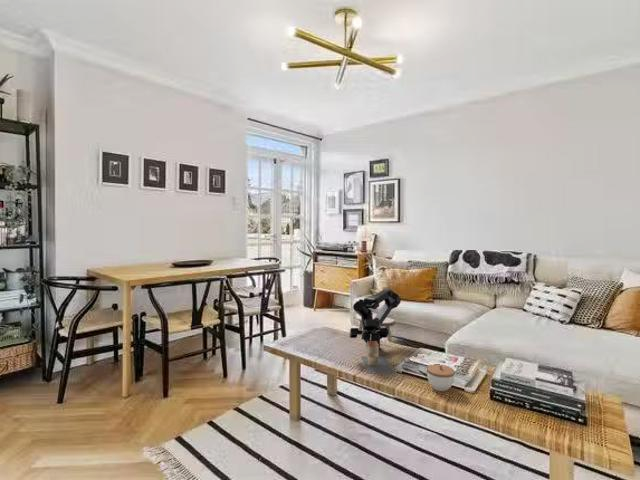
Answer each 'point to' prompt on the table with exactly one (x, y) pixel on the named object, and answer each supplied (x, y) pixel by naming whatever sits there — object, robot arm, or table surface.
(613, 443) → the table surface
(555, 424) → the table surface
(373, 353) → the tan long rectangular block
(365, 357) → the rubber mat
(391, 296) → the robot arm
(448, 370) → the lidded jar
